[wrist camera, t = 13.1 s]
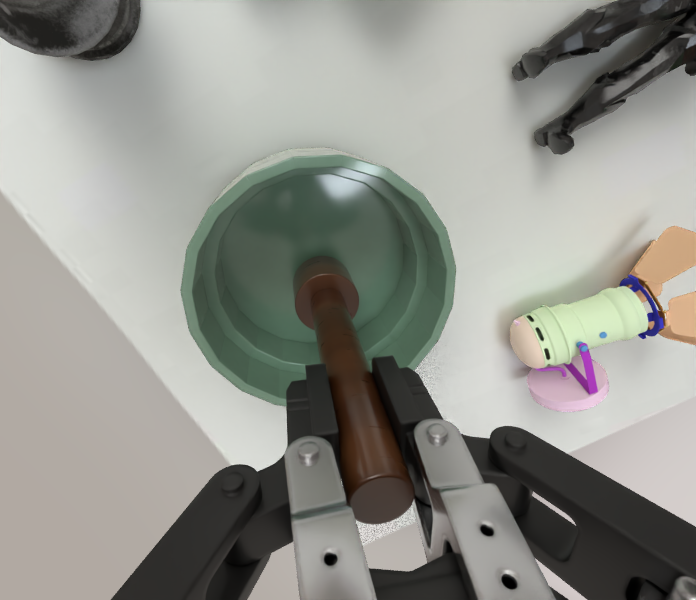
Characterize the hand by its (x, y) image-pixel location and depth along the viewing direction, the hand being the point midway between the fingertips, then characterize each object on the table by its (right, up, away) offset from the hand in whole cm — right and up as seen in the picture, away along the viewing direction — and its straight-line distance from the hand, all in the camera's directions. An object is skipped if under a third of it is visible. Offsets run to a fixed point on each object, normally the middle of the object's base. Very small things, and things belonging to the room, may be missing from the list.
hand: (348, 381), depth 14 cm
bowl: (-2, +5, +10) cm, 12 cm away
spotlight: (+17, +3, +15) cm, 23 cm away
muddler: (-2, +4, +9) cm, 10 cm away
